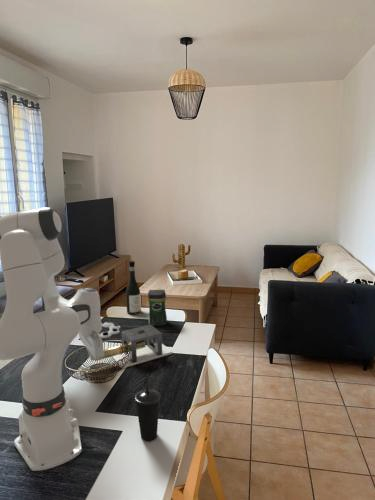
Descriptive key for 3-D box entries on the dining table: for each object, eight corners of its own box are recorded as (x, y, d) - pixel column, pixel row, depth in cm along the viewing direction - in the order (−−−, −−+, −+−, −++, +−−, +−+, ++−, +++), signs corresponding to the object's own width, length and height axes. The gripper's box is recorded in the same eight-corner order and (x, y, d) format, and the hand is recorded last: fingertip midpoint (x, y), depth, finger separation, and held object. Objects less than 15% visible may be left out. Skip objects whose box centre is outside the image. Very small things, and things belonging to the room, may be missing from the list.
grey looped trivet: (95, 321, 205) (94, 318, 204) (127, 325, 199) (127, 322, 198) (73, 336, 186) (73, 332, 186) (108, 341, 180) (108, 337, 180)
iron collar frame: (151, 344, 173) (150, 324, 171) (162, 354, 164) (161, 333, 162) (122, 352, 166) (121, 331, 164) (132, 363, 157) (131, 340, 155)
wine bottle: (143, 312, 215) (141, 261, 209) (130, 316, 211) (128, 263, 205) (137, 308, 222) (135, 259, 216) (124, 311, 217) (122, 261, 211)
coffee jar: (167, 320, 204) (166, 287, 200) (166, 326, 196) (165, 292, 192) (149, 320, 204) (148, 287, 200) (147, 326, 196) (146, 292, 192)
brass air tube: (142, 345, 167) (141, 337, 166) (145, 349, 164) (145, 341, 163) (93, 359, 155) (92, 350, 155) (96, 362, 152) (95, 354, 151)
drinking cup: (140, 448, 110) (137, 386, 106) (133, 432, 117) (130, 373, 113) (165, 440, 113) (163, 379, 109) (156, 425, 120) (155, 367, 116)
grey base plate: (160, 344, 176) (160, 342, 176) (172, 353, 167) (172, 351, 167) (111, 357, 164) (111, 355, 164) (121, 368, 155) (121, 366, 154)
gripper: (106, 334, 144) (108, 367, 146) (89, 317, 161) (91, 347, 163) (90, 338, 140) (92, 372, 143) (75, 320, 157) (77, 351, 160)
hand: (92, 358), depth 153 cm, fingers closed
